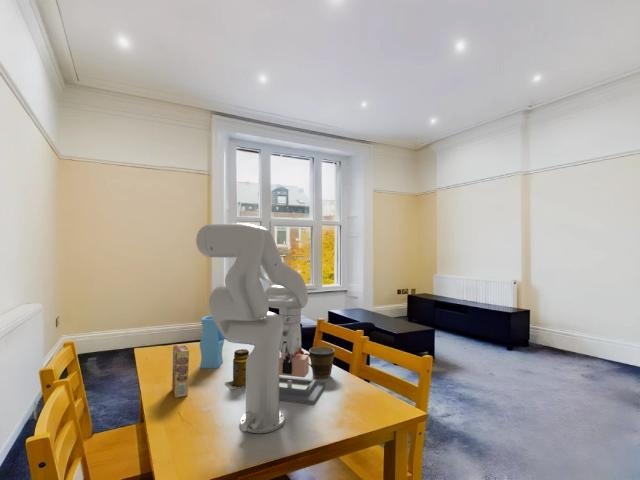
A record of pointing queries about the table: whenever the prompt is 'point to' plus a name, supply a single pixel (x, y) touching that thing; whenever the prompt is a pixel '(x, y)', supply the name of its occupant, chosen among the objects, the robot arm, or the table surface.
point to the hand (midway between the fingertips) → (290, 370)
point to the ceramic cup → (321, 361)
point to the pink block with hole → (296, 365)
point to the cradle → (300, 389)
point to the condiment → (239, 369)
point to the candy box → (180, 371)
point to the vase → (211, 344)
